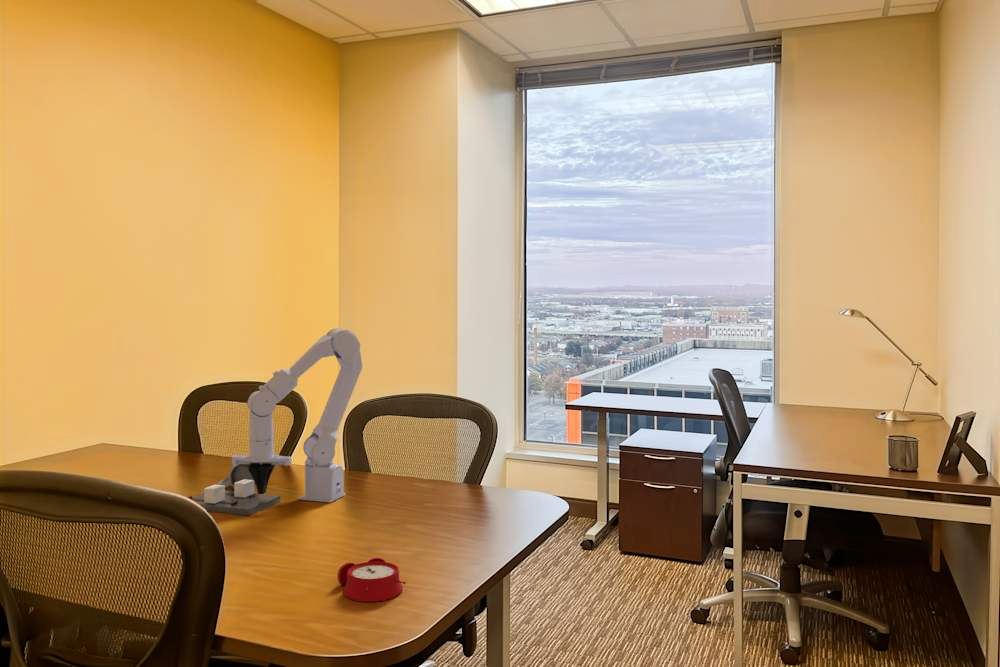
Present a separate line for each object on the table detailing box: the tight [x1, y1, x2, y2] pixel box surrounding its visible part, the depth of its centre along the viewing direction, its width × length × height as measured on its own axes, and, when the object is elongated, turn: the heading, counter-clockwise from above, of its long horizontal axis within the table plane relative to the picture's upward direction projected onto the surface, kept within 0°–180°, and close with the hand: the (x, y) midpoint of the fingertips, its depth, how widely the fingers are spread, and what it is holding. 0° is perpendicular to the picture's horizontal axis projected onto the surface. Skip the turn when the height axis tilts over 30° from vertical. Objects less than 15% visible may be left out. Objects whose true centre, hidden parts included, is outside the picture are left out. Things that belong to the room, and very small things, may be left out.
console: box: [187, 489, 281, 516], centre depth 196 cm, size 20×13×2 cm, turn 72°
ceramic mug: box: [216, 464, 256, 489], centre depth 213 cm, size 11×8×8 cm
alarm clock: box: [337, 557, 407, 603], centre depth 142 cm, size 10×6×15 cm
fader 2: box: [233, 479, 255, 498], centre depth 199 cm, size 3×4×4 cm
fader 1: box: [203, 484, 226, 504], centre depth 193 cm, size 3×4×4 cm
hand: (262, 493), depth 197 cm, fingers closed
